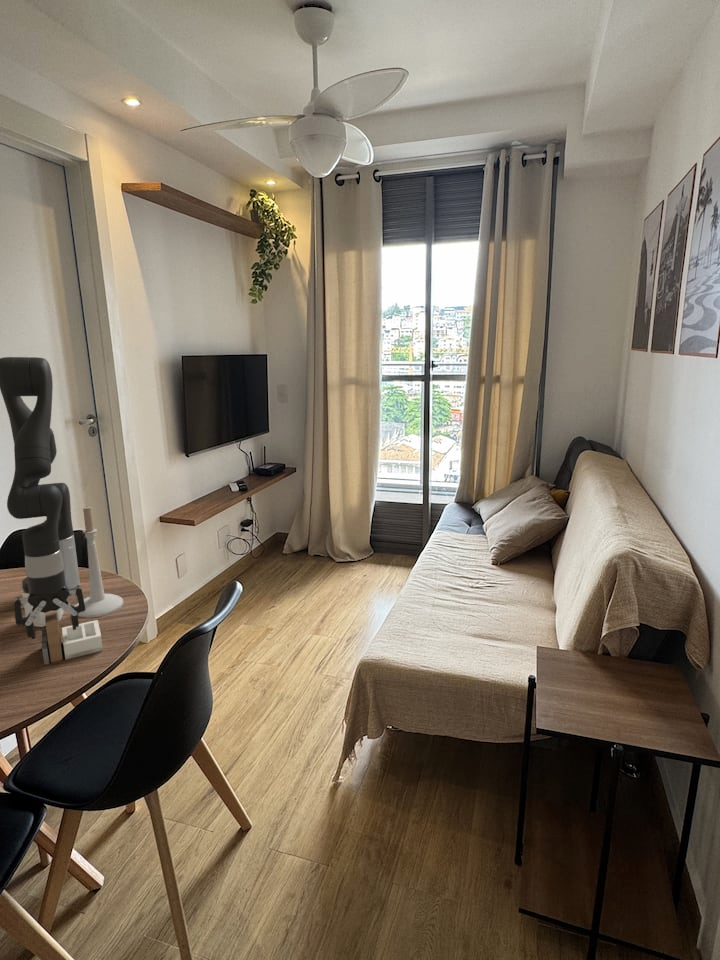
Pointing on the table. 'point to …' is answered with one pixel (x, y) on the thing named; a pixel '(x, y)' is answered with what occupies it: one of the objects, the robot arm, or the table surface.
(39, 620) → the jar
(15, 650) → the table surface
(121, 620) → the table surface
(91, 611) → the candlestick
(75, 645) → the cabinet
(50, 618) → the door
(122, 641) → the table surface
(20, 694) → the table surface
